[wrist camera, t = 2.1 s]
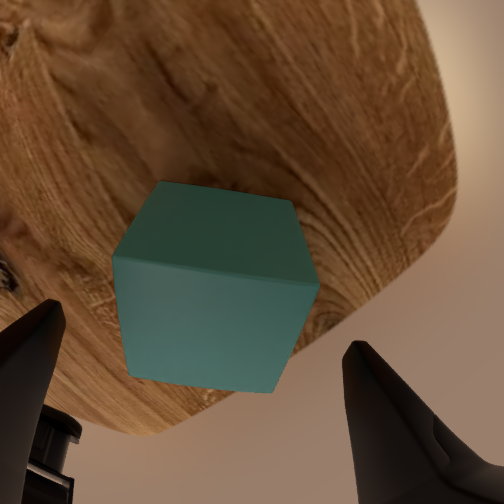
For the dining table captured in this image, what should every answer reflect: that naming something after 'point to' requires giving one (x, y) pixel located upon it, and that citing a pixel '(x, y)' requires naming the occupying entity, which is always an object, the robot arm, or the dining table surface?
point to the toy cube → (212, 288)
